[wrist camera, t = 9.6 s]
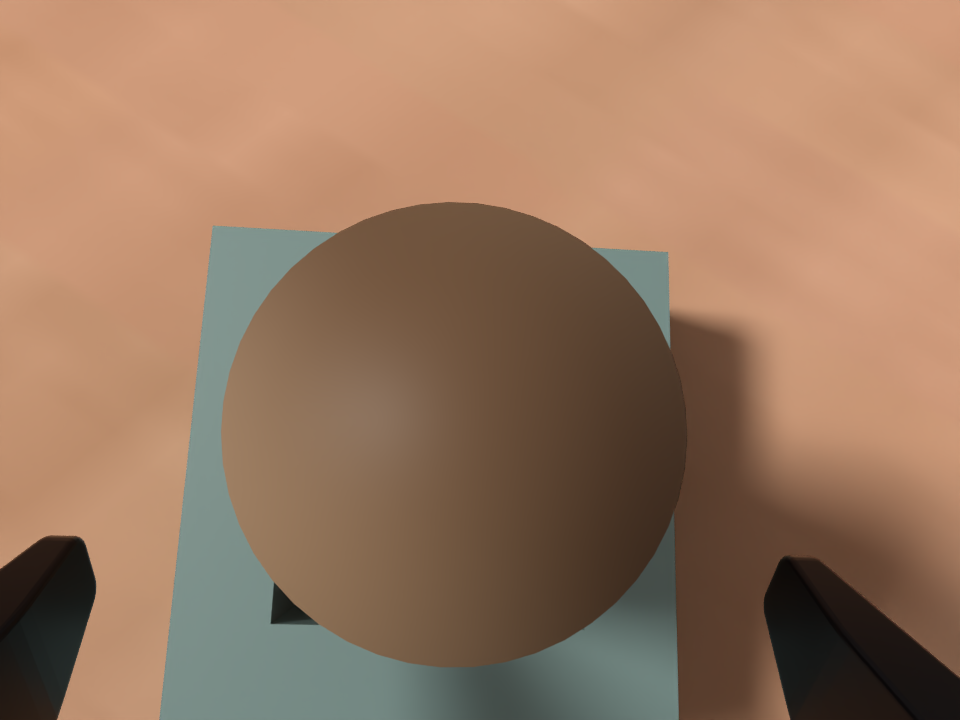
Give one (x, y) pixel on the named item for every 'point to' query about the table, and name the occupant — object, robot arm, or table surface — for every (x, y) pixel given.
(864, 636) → the robot arm
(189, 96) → the table surface
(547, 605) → the peg
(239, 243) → the socket block
